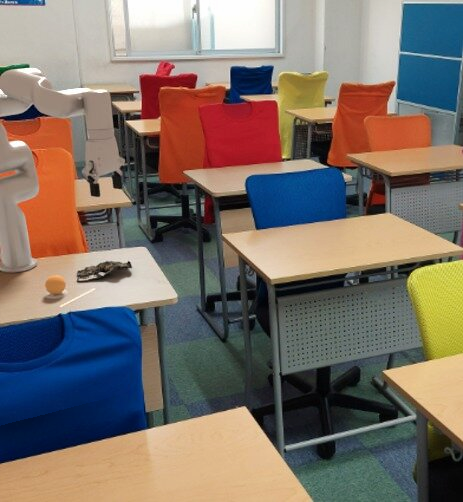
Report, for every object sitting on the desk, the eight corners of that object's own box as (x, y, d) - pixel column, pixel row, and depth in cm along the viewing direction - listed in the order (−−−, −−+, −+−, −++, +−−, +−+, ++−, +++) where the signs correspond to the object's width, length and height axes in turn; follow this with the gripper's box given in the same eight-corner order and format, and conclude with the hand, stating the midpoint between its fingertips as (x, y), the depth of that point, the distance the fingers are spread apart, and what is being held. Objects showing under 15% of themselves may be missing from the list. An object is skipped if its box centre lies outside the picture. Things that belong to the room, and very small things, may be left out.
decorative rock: (77, 276, 194) (68, 258, 207) (80, 293, 197) (71, 274, 209) (135, 262, 201) (123, 245, 213) (138, 278, 204) (125, 261, 216)
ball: (42, 295, 189) (39, 277, 187) (56, 288, 194) (54, 270, 192) (56, 299, 186) (53, 280, 184) (70, 292, 191) (68, 274, 189)
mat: (30, 301, 187) (30, 299, 186) (68, 282, 199) (68, 281, 199) (79, 314, 177) (78, 312, 177) (115, 294, 190) (115, 292, 189)
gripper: (110, 129, 185) (116, 184, 191) (69, 138, 171) (76, 198, 177) (130, 130, 182) (135, 187, 187) (89, 140, 168) (96, 201, 173)
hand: (107, 192), depth 182 cm, fingers open, 9 cm apart
